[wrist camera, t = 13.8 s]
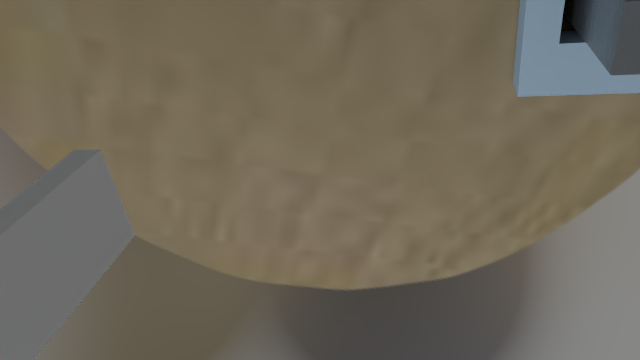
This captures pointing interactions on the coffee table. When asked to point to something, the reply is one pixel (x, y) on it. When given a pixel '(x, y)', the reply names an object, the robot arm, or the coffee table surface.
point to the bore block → (559, 57)
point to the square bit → (610, 32)
